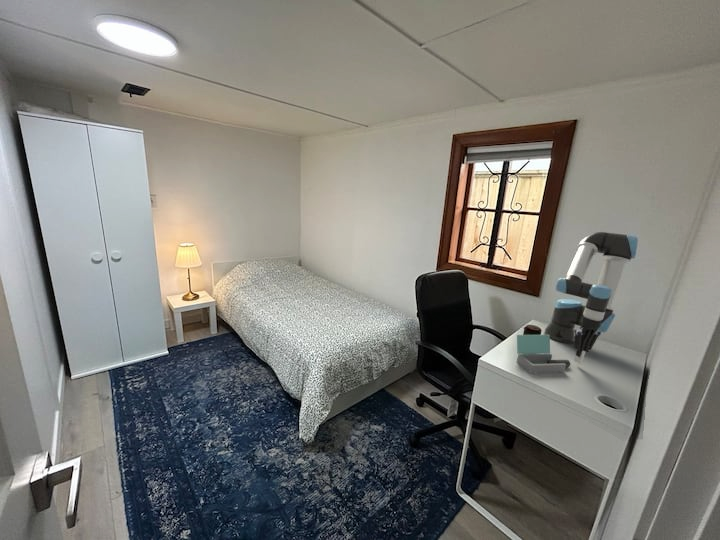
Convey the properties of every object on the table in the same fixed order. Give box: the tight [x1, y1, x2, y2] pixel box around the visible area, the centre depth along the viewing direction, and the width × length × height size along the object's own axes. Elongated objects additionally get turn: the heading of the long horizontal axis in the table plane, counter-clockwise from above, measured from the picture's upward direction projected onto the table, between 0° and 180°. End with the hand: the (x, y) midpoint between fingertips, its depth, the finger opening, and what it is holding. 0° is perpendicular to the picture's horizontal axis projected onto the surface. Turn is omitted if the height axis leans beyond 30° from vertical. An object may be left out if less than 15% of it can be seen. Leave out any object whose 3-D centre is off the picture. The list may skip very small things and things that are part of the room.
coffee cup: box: [522, 324, 543, 335], centre depth 155 cm, size 9×8×13 cm
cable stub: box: [546, 359, 571, 368], centre depth 143 cm, size 10×3×3 cm, turn 100°
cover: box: [516, 334, 551, 355], centre depth 146 cm, size 18×9×1 cm
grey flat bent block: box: [516, 353, 567, 374], centre depth 141 cm, size 18×9×4 cm, turn 100°
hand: (578, 362), depth 144 cm, fingers closed
